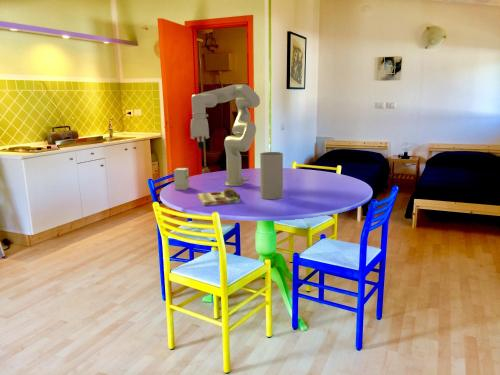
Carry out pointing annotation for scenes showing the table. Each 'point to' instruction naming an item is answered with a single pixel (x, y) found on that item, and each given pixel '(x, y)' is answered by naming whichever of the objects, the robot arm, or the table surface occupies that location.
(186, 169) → the supplement box
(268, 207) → the table surface
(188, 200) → the table surface
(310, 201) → the table surface
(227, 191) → the walnut block
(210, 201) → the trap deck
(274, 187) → the cylinder vase
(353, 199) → the table surface
